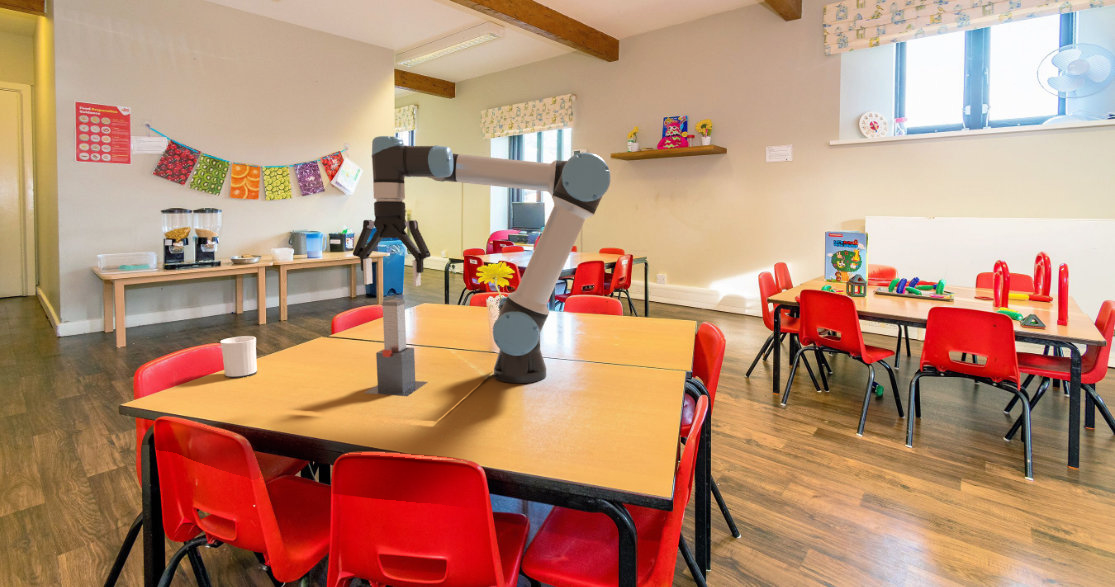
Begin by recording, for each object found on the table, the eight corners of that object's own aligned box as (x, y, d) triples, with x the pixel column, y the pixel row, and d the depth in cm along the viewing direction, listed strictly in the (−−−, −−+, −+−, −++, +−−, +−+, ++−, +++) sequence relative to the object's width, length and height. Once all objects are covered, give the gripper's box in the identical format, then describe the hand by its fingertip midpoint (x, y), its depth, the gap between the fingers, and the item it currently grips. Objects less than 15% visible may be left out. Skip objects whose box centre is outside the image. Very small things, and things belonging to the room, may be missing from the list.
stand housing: (428, 385, 147) (426, 342, 146) (407, 400, 136) (405, 353, 134) (387, 382, 150) (386, 340, 148) (364, 396, 138) (361, 350, 137)
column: (407, 385, 144) (404, 299, 141) (400, 390, 140) (396, 302, 137) (393, 384, 145) (390, 299, 142) (386, 389, 141) (382, 301, 138)
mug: (264, 373, 159) (262, 338, 157) (233, 380, 151) (230, 344, 150) (244, 367, 164) (242, 334, 163) (213, 374, 157) (210, 339, 156)
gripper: (442, 201, 137) (444, 284, 140) (353, 201, 142) (356, 281, 145) (429, 200, 130) (431, 288, 133) (336, 200, 135) (340, 284, 138)
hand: (392, 284), depth 139 cm, fingers open, 13 cm apart
